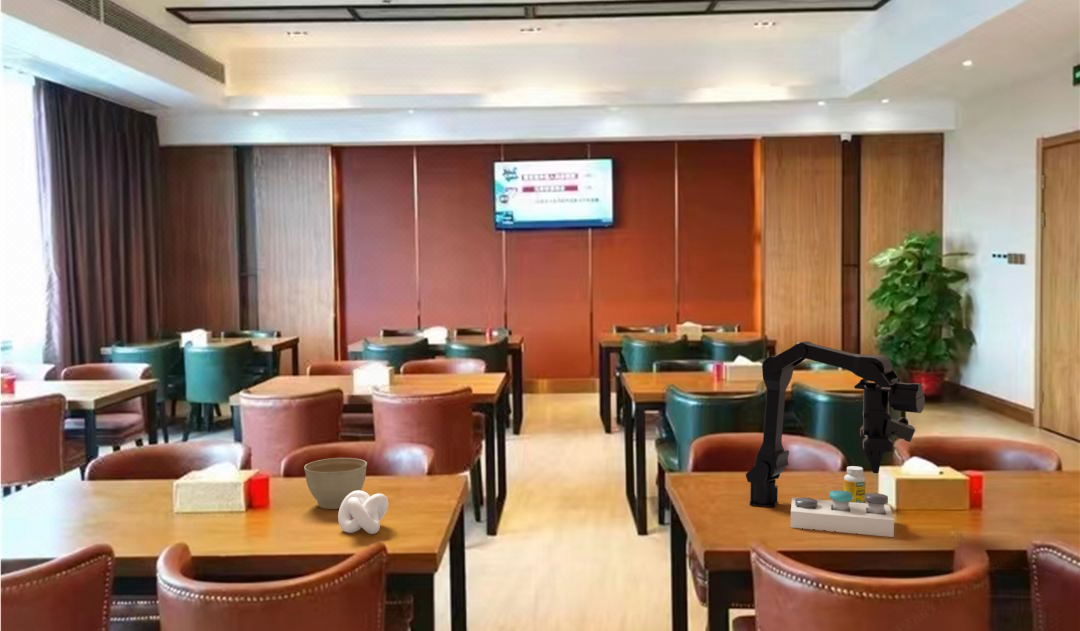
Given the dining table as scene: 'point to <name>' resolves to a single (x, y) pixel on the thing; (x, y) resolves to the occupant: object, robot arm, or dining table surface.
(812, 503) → the knob
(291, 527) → the dining table surface
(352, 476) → the planter bowl
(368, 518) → the white knot sculpture
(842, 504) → the middle knob
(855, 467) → the supplement bottle
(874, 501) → the knob
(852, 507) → the knob mount
